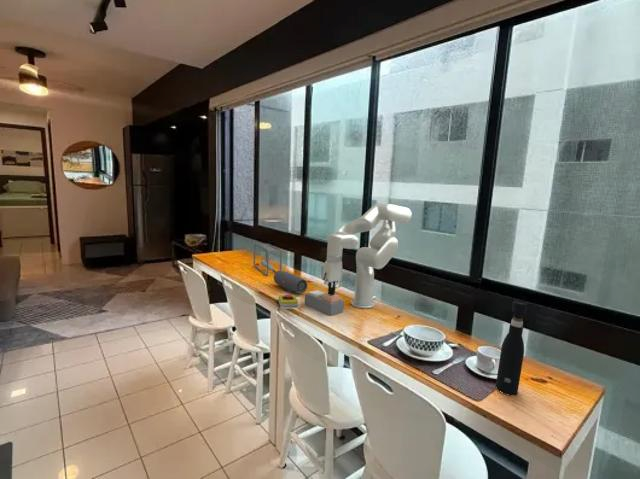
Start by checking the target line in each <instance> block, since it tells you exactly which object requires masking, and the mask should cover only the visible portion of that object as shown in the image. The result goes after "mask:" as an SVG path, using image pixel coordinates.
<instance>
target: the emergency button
mask: <svg viewBox="0 0 640 479" xmlns="http://www.w3.org/2000/svg"><path fill="white" fill-rule="evenodd" d="M277 301H278V303H279V306H280V309H283V310H285V309H286V310H288V309H290V310H291V309H295V310H296V309H300V307H299V300H298V298H297V296H296V295H295V294H283V295H281V294H279V295H278V299H277Z"/></svg>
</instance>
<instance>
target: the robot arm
mask: <svg viewBox="0 0 640 479" xmlns="http://www.w3.org/2000/svg"><path fill="white" fill-rule="evenodd" d="M412 216H413V215H412V211H411V209H410V208H408V207H407V206H406V207H405V206H401V205H397V204H393V203H383V202H378V203H375V204H374V205H372V206H371V207H370V208H369V209H368V210H367V211H366V212H365V213H364V214H363V215H362V216H360V217H359V218H356V219H354V220H352V221H349V222H347V223H345V224H344V225H343V226H341V227H340V228H339V229H337V231H336V232H335V233H329V234H328V237H327V238H328V239H327V246H326V247H327V248H326V249H327V250H326V259H325V262H324V265H323V268H322V269H323V270H322V275H321V276H322V281H323V284H324V285H327V288H328V290H327V294H330V295H335V294H336V287H337V285H338V283H340V282H341V280H342V276H343V260H342V259H343V249H347V250H354V249H356V248H357V247H358V246H359V242H360V239H359V238H358V236H357V235H356V234H359V233H365V232H369V231H371V230H373V229H374V227H376V226H377V225H378V224H379V223H380V222H381V221H382V220H383V221H382V226H381V227H380V228H379V230H378V231H377V232H376V233H375V234H374V235H373V237H372V238H371V239H370V242H369V247H367V246H363V247H360V248H359V249H357V251H356V253H355V262H356V263H355V264H356V273H355V283H354V284H355V285H354V298H353V299H352V300H351V301H350V304H351V305H352V306H353V307H355V308H358V309H372V308H374V307H375V303H374V300H376V299H377V295H373V292H374V280H375V270H382V269H383V268H384V267H385V266H387V264H388V263H389V261H390V260H391V259H392V258H393V257H394V255H395V254H396V253H397V252H398V248H399V240H398V239H397V238H396V237H395V235H396V233H397V227H396V223H401V224H407V223H409V222H410V221H411V219H412ZM374 269H375V270H374Z"/></svg>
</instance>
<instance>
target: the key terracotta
mask: <svg viewBox="0 0 640 479" xmlns="http://www.w3.org/2000/svg"><path fill="white" fill-rule="evenodd" d="M323 300H325V301H327V302H330V303H334V302H337V301H340V300H341V295H339V294H336V293H335V295H330V294H328V293H326V294H324V295H323Z"/></svg>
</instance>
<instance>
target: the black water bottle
mask: <svg viewBox="0 0 640 479" xmlns="http://www.w3.org/2000/svg"><path fill="white" fill-rule="evenodd" d="M527 307H528V303H526V302H525V301H521V300H513V301H512V308H511V312H512V313H513V315H512V319H511V320H510V321H511V322H510V324H509V329H508V332H507V334H506V336H505V337H504V340H503V341H502V345H501V348H500V356H499V361H498V367H497V373H496V379H495V380H496V381H495V388H496V387H497V389H498V390H499V391H501V392H503V393H506V394H509V395H508V396H511V395H515V396H517V395H518V391H519V386H520V378H521V373H522V368H523V364H524V363H523V362H524V361H523V360H524V358H525V357H524V355H525V345H524V339H523V331H524V327H523V326H524V325H523V324H524V321H523V319H524V318H523V317H524V315H527V314H526V313H527ZM497 389H496V390H497ZM498 390H497V391H498ZM499 391H498V392H499ZM501 392H500V393H501ZM503 393H502V394H503ZM506 394H505V395H506ZM516 394H517V395H516Z"/></svg>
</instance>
